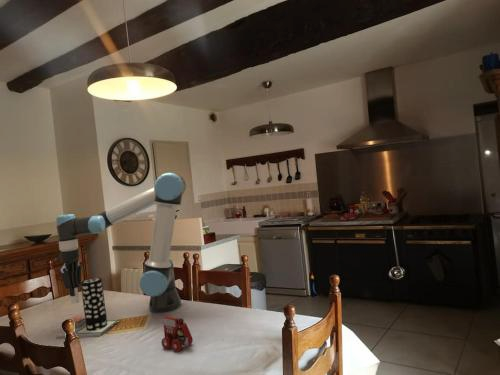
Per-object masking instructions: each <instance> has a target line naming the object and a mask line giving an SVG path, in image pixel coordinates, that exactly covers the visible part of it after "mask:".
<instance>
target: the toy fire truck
mask: <svg viewBox="0 0 500 375" xmlns="http://www.w3.org/2000/svg"><path fill="white" fill-rule="evenodd" d="M161 320H162V322H161V323H162V326H163V333H164V337H163V338H162V339H161V346H162V348H163V349H164V350H169V349H172V350H173V351H174V352H176V353H178V352H180V351H182V349H183V347H184V346H186V347H189V346H190V345H192V343H193V341H194V340H193V337H192V334H191V331H190V329H189V327H188V325H187V323H185V320H184V318H181V317H180V318H177V317H173V316H167V315H166V316H165V315H164V316H163V317H162V319H161Z"/></svg>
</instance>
